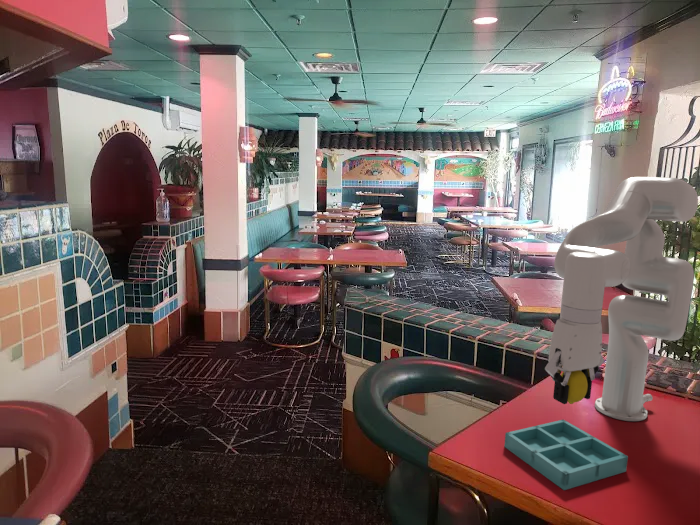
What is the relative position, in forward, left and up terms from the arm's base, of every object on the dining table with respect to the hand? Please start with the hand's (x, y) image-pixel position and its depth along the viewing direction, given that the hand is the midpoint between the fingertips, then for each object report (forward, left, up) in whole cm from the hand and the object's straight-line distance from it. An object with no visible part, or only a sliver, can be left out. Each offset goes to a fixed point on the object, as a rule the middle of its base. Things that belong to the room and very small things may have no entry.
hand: (571, 398), depth 108 cm
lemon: (0, 0, -1) cm, 2 cm away
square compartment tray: (-4, -4, -17) cm, 18 cm away
